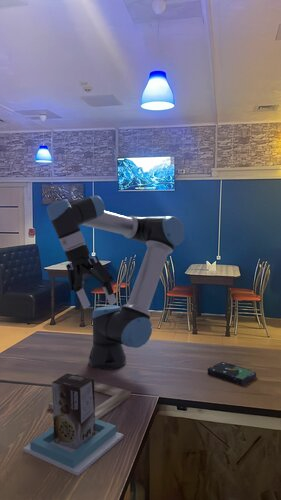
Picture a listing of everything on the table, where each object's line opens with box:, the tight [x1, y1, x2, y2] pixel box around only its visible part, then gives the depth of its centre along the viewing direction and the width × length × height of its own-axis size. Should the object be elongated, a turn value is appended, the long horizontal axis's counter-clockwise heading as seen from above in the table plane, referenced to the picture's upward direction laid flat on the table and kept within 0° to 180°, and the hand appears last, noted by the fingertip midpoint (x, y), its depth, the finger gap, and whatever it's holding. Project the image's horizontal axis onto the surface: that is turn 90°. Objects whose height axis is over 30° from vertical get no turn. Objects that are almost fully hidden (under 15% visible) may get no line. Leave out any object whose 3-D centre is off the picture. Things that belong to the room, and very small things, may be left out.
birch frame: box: [48, 381, 132, 420], centre depth 119 cm, size 17×20×2 cm
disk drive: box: [207, 361, 257, 386], centre depth 139 cm, size 10×3×15 cm
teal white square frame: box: [22, 419, 124, 477], centre depth 96 cm, size 18×18×3 cm
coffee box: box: [51, 373, 96, 449], centre depth 96 cm, size 9×6×16 cm
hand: (99, 305), depth 124 cm, fingers open, 13 cm apart
